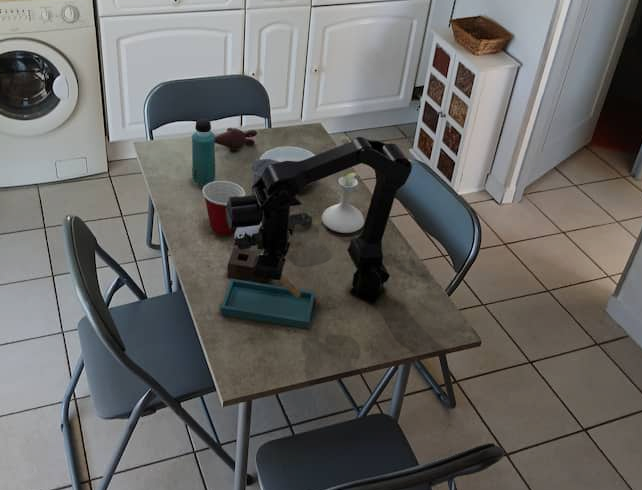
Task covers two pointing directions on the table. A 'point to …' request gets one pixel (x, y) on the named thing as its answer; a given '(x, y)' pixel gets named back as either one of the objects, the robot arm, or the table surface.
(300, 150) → the cereal bowl
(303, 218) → the milk frother
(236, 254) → the slotted brown holder
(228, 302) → the tray
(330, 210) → the flower in vase
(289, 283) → the tan round-headed peg
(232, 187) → the plastic cup
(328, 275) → the table surface
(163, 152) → the table surface
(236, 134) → the brown stuffed toy
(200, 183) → the beverage bottle
